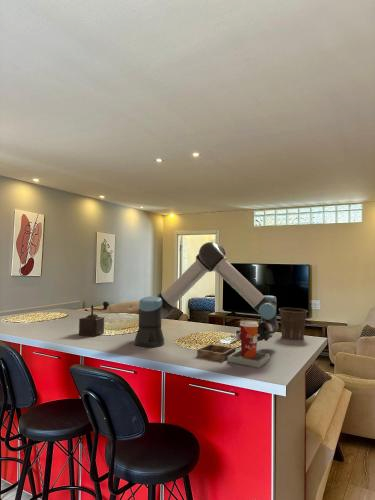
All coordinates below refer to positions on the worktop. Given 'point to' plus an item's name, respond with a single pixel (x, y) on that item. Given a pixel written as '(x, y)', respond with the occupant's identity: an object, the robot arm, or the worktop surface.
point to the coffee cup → (248, 338)
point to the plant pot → (293, 322)
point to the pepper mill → (92, 323)
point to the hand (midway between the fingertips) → (245, 338)
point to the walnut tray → (221, 356)
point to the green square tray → (249, 359)
